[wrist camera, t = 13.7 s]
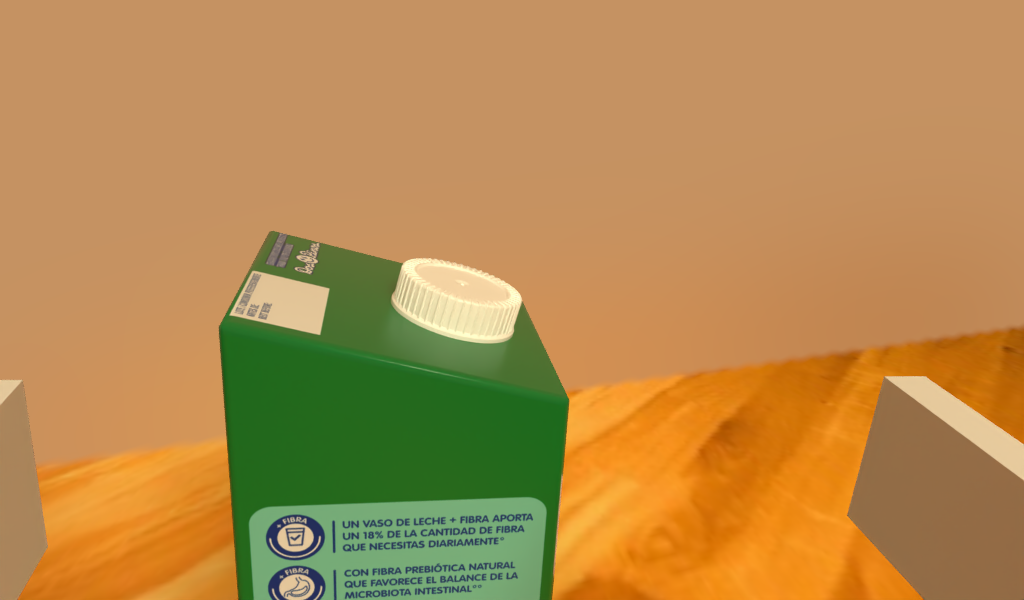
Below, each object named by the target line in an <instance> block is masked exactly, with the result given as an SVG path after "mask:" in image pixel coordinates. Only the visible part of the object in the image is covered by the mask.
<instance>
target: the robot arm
mask: <svg viewBox="0 0 1024 600" xmlns="http://www.w3.org/2000/svg"><path fill="white" fill-rule="evenodd" d="M847 516H848V517H849V518H850V519H851V520H852V521H853V522H854V523H855V525H856V526H857V527H858V528H859V529H860V530H861V531H862V532H863V533H864V534H865V535H866V537H867V538H868V539H869V540H870V541H871V542H872V543H873V544H874V545H875V546H876V547H877V549H878V550H879V551H880V552H881V553H882V554H883V555H884V556H885V557H886V558H887V559H888V561H889V562H890V563H891V564H892V565H893V566H894V567H895V568H896V569H897V570H898V571H899V573H900V574H901V575H902V576H903V577H904V578H905V579H906V580H907V581H908V582H909V583H910V585H911V586H912V587H913V588H914V589H915V590H916V591H917V592H918V593H919V594H920V595H921V597H922V598H923V599H924V600H1024V444H1022V443H1021V442H1019V441H1018V440H1016V439H1015V438H1014V437H1012V436H1011V435H1009V434H1008V433H1006V432H1005V431H1003V430H1002V429H1001V428H999V427H998V426H996V425H995V424H993V423H992V422H990V421H989V420H987V419H986V418H985V417H983V416H982V415H980V414H979V413H977V412H976V411H974V410H973V409H972V408H970V407H969V406H967V405H966V404H964V403H963V402H961V401H960V400H958V399H957V398H956V397H954V396H953V395H951V394H950V393H948V392H947V391H945V390H944V389H942V388H941V387H940V386H938V385H937V384H935V383H934V382H932V381H931V380H929V379H928V378H927V377H925V376H909V377H884V379H883V383H882V387H881V391H880V394H879V398H878V402H877V406H876V409H875V413H874V417H873V421H872V424H871V428H870V432H869V436H868V440H867V443H866V447H865V451H864V455H863V458H862V462H861V466H860V470H859V473H858V477H857V481H856V485H855V489H854V492H853V496H852V500H851V504H850V507H849V511H848V515H847ZM47 547H48V545H47V538H46V532H45V525H44V518H43V512H42V505H41V498H40V492H39V485H38V478H37V472H36V465H35V459H34V452H33V445H32V439H31V432H30V425H29V418H28V412H27V405H26V398H25V392H24V385H23V380H0V600H17V599H18V597H19V596H20V594H21V592H22V590H23V589H24V587H25V585H26V584H27V582H28V580H29V578H30V577H31V575H32V573H33V571H34V570H35V568H36V566H37V565H38V563H39V561H40V559H41V558H42V556H43V554H44V552H45V551H46V549H47Z"/></svg>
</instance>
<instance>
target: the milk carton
mask: <svg viewBox="0 0 1024 600" xmlns="http://www.w3.org/2000/svg"><path fill="white" fill-rule="evenodd" d="M219 338H220V352H221V366H222V380H223V394H224V408H225V422H226V436H227V450H228V464H229V478H230V491H231V505H232V519H233V533H234V547H235V561H236V575H237V589H238V600H552V593H553V582H554V570H555V559H556V547H557V536H558V524H559V513H560V501H561V490H562V478H563V467H564V456H565V444H566V433H567V421H568V410H569V399H568V396H567V394H566V392H565V390H564V388H563V386H562V384H561V382H560V380H559V377H558V375H557V373H556V371H555V369H554V367H553V365H552V363H551V361H550V359H549V356H548V354H547V352H546V350H545V348H544V346H543V344H542V342H541V340H540V338H539V335H538V333H537V331H536V329H535V327H534V325H533V323H532V321H531V319H530V317H529V314H528V312H527V310H526V308H525V306H524V304H523V302H522V299H521V295H520V294H519V292H517V291H516V289H514V288H513V287H512V286H510V285H509V284H508V283H505V281H501V280H500V278H495V277H494V275H489V274H488V273H483V272H482V270H480V271H478V270H476V268H470V267H469V266H467V267H466V266H463V265H462V264H460V265H459V264H456V262H454V263H450V262H449V261H443V260H437V259H434V260H432V259H431V258H428V259H426V258H422V259H421V258H418V259H416V258H415V259H410V260H408V261H406V262H404V264H403V263H399V262H395V261H391V260H386V259H382V258H378V257H375V256H371V255H366V254H363V253H359V252H355V251H351V250H346V249H343V248H338V247H334V246H330V245H327V244H323V243H318V242H314V241H311V240H307V239H302V238H298V237H295V236H290V235H286V234H283V233H279V232H275V231H271V232H269V234H268V236H267V238H266V239H265V241H264V243H263V245H262V247H261V249H260V251H259V253H258V255H257V256H256V258H255V260H254V262H253V264H252V266H251V268H250V269H249V271H248V273H247V275H246V277H245V279H244V281H243V283H242V285H241V287H240V288H239V290H238V293H237V294H236V296H235V298H234V300H233V301H232V303H231V305H230V307H229V309H228V311H227V313H226V315H225V317H224V318H223V321H222V322H221V324H220V326H219Z"/></svg>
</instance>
